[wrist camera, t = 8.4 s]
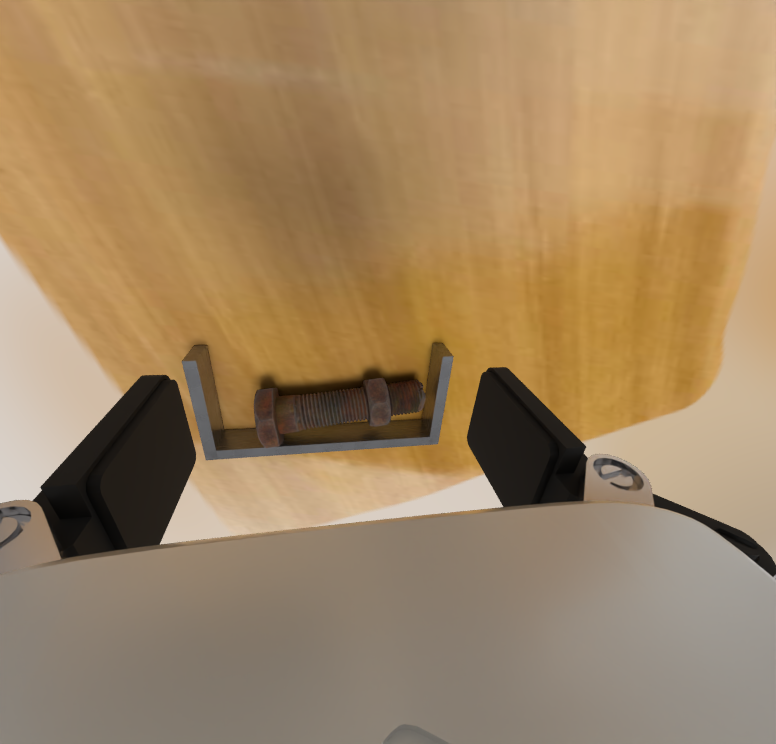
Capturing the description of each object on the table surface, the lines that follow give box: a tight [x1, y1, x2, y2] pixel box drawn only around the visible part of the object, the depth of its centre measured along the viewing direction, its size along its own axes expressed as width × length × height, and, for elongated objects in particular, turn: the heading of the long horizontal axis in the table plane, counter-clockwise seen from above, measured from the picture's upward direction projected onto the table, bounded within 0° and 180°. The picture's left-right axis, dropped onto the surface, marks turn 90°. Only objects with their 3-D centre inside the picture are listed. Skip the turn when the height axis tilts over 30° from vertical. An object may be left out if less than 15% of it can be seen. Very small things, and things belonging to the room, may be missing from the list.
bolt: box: [254, 378, 426, 448], centre depth 31 cm, size 6×5×15 cm
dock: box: [182, 343, 453, 460], centre depth 32 cm, size 10×22×3 cm, turn 86°
